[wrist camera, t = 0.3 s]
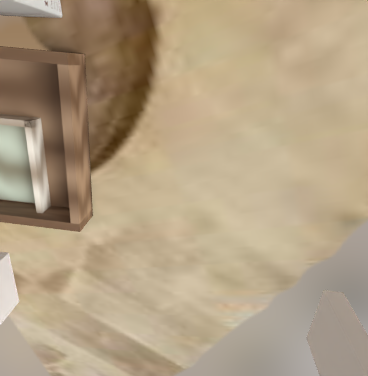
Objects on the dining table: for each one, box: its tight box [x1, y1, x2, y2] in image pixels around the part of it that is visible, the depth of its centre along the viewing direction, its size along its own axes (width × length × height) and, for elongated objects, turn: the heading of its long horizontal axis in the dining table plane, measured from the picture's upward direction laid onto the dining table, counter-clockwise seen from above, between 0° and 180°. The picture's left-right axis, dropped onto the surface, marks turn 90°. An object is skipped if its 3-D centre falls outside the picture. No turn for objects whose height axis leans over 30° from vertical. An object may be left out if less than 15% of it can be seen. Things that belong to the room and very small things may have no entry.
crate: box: [0, 46, 93, 232], centre depth 37 cm, size 22×20×4 cm
